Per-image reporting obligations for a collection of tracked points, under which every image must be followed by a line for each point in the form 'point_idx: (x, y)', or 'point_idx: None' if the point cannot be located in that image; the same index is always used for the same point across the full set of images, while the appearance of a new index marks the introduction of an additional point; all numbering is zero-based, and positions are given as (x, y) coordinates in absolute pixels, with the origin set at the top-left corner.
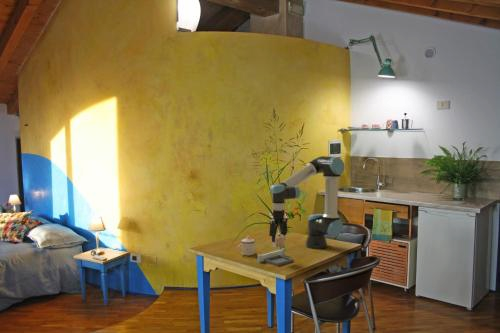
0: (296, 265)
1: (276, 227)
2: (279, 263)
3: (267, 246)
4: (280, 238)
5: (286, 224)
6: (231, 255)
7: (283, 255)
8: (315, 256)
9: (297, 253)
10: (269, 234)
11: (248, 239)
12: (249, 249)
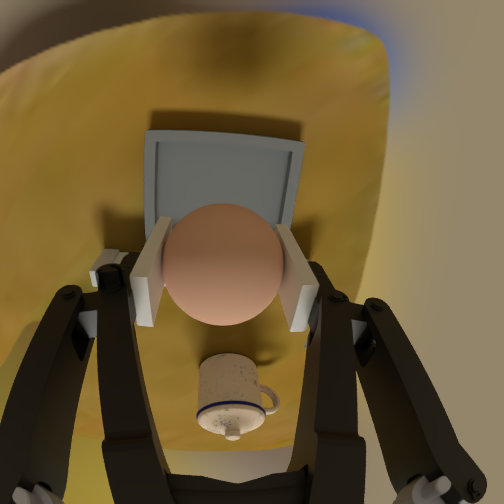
0: (204, 61)
1: (345, 412)
2: (286, 139)
3: (96, 373)
4: (236, 248)
5: (18, 404)
6: (291, 383)
7: (113, 250)
8: (6, 126)
9: (34, 227)
10: (373, 347)
11: (243, 423)
12: (247, 377)
